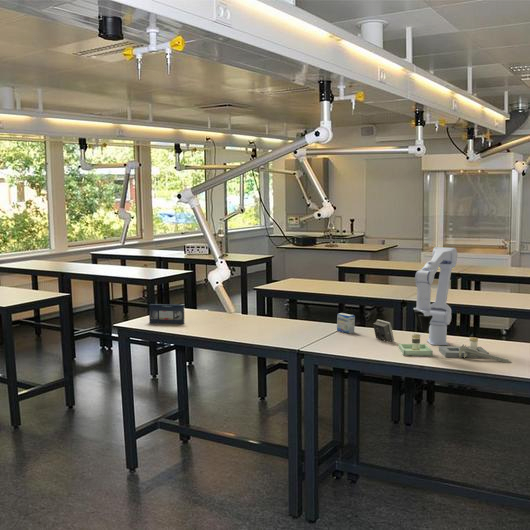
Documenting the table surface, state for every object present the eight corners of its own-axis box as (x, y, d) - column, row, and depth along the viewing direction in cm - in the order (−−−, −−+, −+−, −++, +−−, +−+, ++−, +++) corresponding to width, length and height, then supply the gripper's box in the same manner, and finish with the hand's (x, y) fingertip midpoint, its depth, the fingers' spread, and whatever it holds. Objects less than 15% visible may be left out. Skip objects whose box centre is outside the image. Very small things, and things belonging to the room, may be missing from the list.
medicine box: (336, 330, 301) (336, 313, 300) (342, 329, 304) (342, 312, 303) (348, 333, 295) (349, 316, 294) (354, 332, 298) (355, 315, 297)
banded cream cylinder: (411, 349, 262) (411, 333, 261) (419, 349, 261) (419, 334, 260) (412, 351, 258) (412, 335, 257) (420, 351, 258) (420, 335, 257)
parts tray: (398, 348, 266) (398, 343, 266) (425, 349, 266) (426, 344, 265) (403, 355, 254) (403, 350, 254) (432, 356, 254) (432, 351, 253)
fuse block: (438, 350, 263) (438, 346, 263) (480, 351, 262) (480, 346, 262) (445, 357, 252) (445, 352, 252) (489, 357, 251) (489, 353, 251)
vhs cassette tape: (149, 323, 316) (148, 304, 315) (150, 322, 319) (150, 303, 318) (183, 324, 314) (183, 305, 313) (184, 323, 317) (184, 304, 316)
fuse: (467, 353, 259) (468, 337, 258) (475, 353, 259) (476, 337, 258) (470, 355, 255) (470, 339, 255) (478, 355, 255) (479, 339, 254)
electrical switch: (394, 341, 279) (393, 322, 278) (385, 343, 277) (384, 324, 276) (381, 337, 288) (380, 318, 286) (372, 339, 285) (371, 320, 284)
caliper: (458, 358, 251) (459, 344, 250) (458, 358, 252) (459, 343, 251) (511, 363, 244) (512, 348, 243) (511, 362, 245) (512, 347, 245)
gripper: (410, 295, 265) (409, 325, 267) (417, 301, 251) (416, 333, 252) (427, 295, 265) (426, 325, 267) (434, 301, 251) (433, 333, 252)
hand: (422, 329), depth 259 cm, fingers open, 7 cm apart
